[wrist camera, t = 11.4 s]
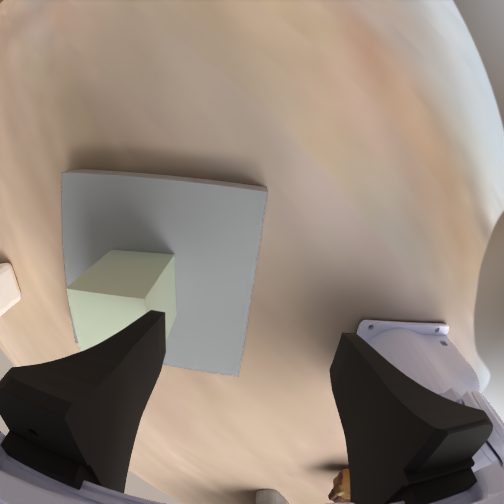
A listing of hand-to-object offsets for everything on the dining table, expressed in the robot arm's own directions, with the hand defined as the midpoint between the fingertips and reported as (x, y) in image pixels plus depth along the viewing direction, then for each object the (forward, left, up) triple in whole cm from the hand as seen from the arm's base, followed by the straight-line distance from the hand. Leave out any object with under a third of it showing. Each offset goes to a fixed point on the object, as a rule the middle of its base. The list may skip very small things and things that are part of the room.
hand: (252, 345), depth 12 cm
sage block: (+7, +2, -8) cm, 11 cm away
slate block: (+7, +2, -11) cm, 13 cm away
